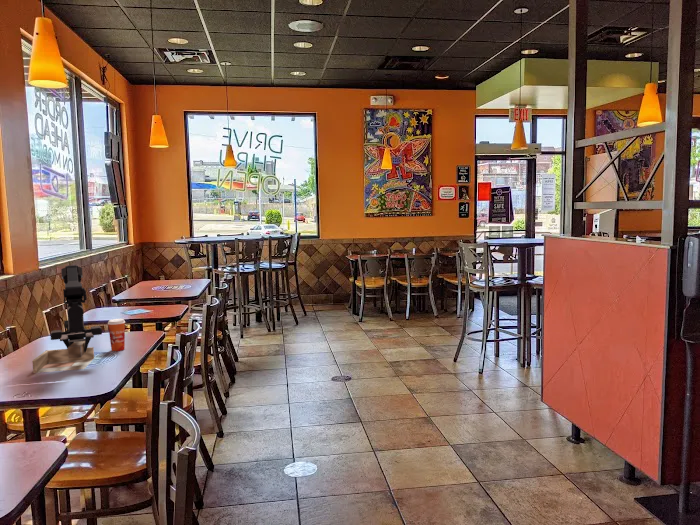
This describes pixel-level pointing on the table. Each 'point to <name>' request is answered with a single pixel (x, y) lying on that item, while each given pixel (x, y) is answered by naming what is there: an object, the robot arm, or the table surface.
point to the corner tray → (61, 361)
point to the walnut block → (76, 349)
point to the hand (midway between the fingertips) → (77, 353)
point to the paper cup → (117, 334)
